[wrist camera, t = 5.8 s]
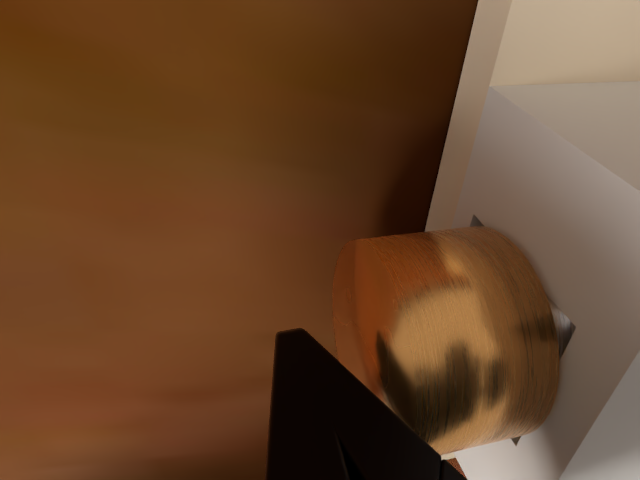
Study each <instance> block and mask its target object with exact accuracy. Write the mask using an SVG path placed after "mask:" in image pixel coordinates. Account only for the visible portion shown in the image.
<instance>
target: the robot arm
mask: <svg viewBox="0 0 640 480" xmlns="http://www.w3.org/2000/svg"><path fill="white" fill-rule="evenodd" d="M441 459H442V457H441V455H440V454H439V453H438V452H436V451H435V450H434V449H433V448H432V447H431V446H430V445H429V444H428V443H427V442H426V441H425V440H423V439H422V438H421V437H420V436H419V435H418V434H417V433H416V432H415V431H414V430H413V429H412V428H411V427H409V426H408V425H407V424H406V423H405V422H404V421H403V420H402V419H401V418H400V417H399V416H398V415H396V414H395V413H394V412H393V411H392V410H391V409H390V408H389V407H388V406H387V405H386V404H385V403H383V402H382V401H381V400H380V399H379V398H378V397H377V396H376V395H375V394H374V393H373V392H372V391H370V390H369V389H368V388H367V387H366V386H365V385H364V384H363V383H362V382H361V381H360V380H359V379H357V378H356V377H355V376H354V375H353V374H352V373H351V372H350V371H349V370H348V369H347V368H346V367H344V366H343V365H342V364H341V363H340V362H339V361H338V360H337V359H336V358H335V357H334V356H333V355H331V354H330V353H329V352H328V351H327V350H326V349H325V348H324V347H323V346H322V345H321V344H320V343H318V342H317V341H316V340H315V339H314V338H313V337H312V336H311V335H310V334H309V333H308V332H307V331H305V330H304V329H302V328H297V329H292V330H286V331H281V332H278V333H277V334H276V338H275V352H274V365H273V378H272V392H271V405H270V419H269V432H268V445H267V459H266V472H265V480H467V479H466V478H465V477H464V476H463V475H462V474H460V473H459V472H458V471H457V470H456V469H455V468H454V467H453V466H452V465H451V464H450V463H449V462H448V461H446V460H445V459H443V460H442V461H441Z"/></svg>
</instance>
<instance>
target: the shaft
mask: <svg viewBox="0 0 640 480" xmlns="http://www.w3.org/2000/svg"><path fill="white" fill-rule="evenodd" d="M332 300H333V324H334V335H335V343H336V349H337V355H338V361H339V362H340V363H341V364H342V365H343V366H344V367H346V368H347V369H348V370H349V371H350V372H351V373H352V374H353V375H354V376H355V377H356V378H357V379H359V380H360V381H361V382H362V383H363V384H364V385H365V386H366V387H367V388H368V389H369V390H370V391H372V392H373V393H374V394H375V395H376V396H377V397H378V398H379V399H380V400H381V401H382V402H383V403H385V404H386V405H387V406H388V407H389V408H390V409H391V410H392V411H393V412H394V413H395V414H396V415H398V416H399V417H400V418H401V419H402V420H403V421H404V422H405V423H406V424H407V425H408V426H409V427H411V428H412V429H413V430H414V431H415V432H416V433H417V434H418V435H419V436H420V437H421V438H422V439H423V440H425V441H426V442H427V443H428V444H429V445H430V446H431V447H432V448H433V449H434V450H435V451H436V452H438V453H439V454H440V455H443V454H448V453H452V452H456V451H460V450H464V449H468V448H473V447H477V446H481V445H485V444H489V443H494V442H498V441H502V440H506V439H510V438H515V437H519V436H523V435H526V434H530V433H531V432H533V431H535V430H536V429H538V428H539V427H540V426H541V425H542V424H543V423H544V421H545V420H546V418H547V416H548V415H549V413H550V411H551V408H552V406H553V404H554V400H555V396H556V393H557V387H558V380H559V361H560V359H561V357H562V355H563V353H564V351H565V349H566V347H567V345H568V343H569V341H570V339H571V337H572V335H573V333H574V331H575V329H576V326H575V325H574V324H573V323H572V322H571V321H570V320H569V319H568V317H567V316H566V315H565V314H564V313H563V312H562V311H561V310H560V309H559V308H558V306H557V305H556V304H555V303H554V302H553V301H552V300H551V299H550V298H549V297H548V295H547V294H546V293H545V291H544V289H543V287H542V284H541V282H540V280H539V278H538V276H537V275H536V273H535V271H534V269H533V267H532V266H531V264H530V263H529V261H528V260H527V258H526V257H525V256H524V254H523V253H522V252H521V251H520V250H519V248H518V247H517V246H516V245H515V244H514V243H513V242H512V241H511V240H510V239H508V238H507V237H506V236H504V235H503V234H501V233H500V232H498V231H496V230H494V229H492V228H488V227H484V226H471V227H462V228H453V229H445V230H436V231H427V232H418V233H409V234H400V235H392V236H383V237H374V238H365V239H356V240H352V241H349V242H348V243H346V244H345V246H344V247H343V248H342V250H341V252H340V254H339V257H338V260H337V263H336V268H335V273H334V281H333V299H332Z"/></svg>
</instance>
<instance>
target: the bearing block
mask: <svg viewBox="0 0 640 480" xmlns="http://www.w3.org/2000/svg"><path fill="white" fill-rule="evenodd" d="M471 226H484V227H488V228H492V229H494V230H496V231H498V232H500V233H501V234H503V235H504V236H506V237H507V238H508V239H510V240H511V241H512V242H513V243H514V244H515V245H516V246H517V247H518V248H519V250H520V251H521V252H522V253H523V254H524V256H525V257H526V258H527V260H528V261H529V263H530V264H531V266H532V267H533V269H534V271H535V273H536V275H537V276H538V278H539V280H540V282H541V284H542V287H543V289H544V291H545V293H546V294H547V295H548V297H549V298H550V299H551V300H552V301H553V302H554V303H555V304H556V305H557V306H558V308H559V309H560V310H561V311H562V312H563V313H564V314H565V315H566V316H567V317H568V319H569V320H570V321H571V322H572V323H573V324H574V325H575V326H576V329H575V331H574V333H573V335H572V337H571V339H570V341H569V343H568V345H567V347H566V349H565V351H564V353H563V355H562V357H561V359H560V361H559V380H558V387H557V393H556V396H555V400H554V404H553V406H552V408H551V411H550V413H549V415H548V416H547V418H546V420H545V421H544V423H543V424H542V425H541V426H540V427H539V428H538V429H536V430H535V431H533V432H531V433H530V434H526V435H523V436H519V437H515V438H510V439H506V440H502V441H498V442H494V443H489V444H485V445H481V446H477V447H473V448H468V449H464V450H460V451H456V452H452V453H448V454H443V455H441V457H442V459H441V461H442V460H443V459H445V460H447V459H452V458H456V459H457V461H458V462H459V464H460V466H461V468H462V470H463V472H464V474H465V476H466V478H467V480H640V0H478V5H477V9H476V13H475V17H474V22H473V26H472V30H471V35H470V39H469V43H468V47H467V52H466V56H465V60H464V65H463V69H462V73H461V77H460V82H459V86H458V90H457V95H456V99H455V103H454V107H453V112H452V116H451V120H450V125H449V129H448V133H447V137H446V142H445V146H444V150H443V155H442V159H441V163H440V167H439V172H438V176H437V180H436V185H435V189H434V193H433V197H432V202H431V206H430V210H429V215H428V219H427V223H426V227H425V232H427V231H436V230H445V229H453V228H462V227H471Z"/></svg>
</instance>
